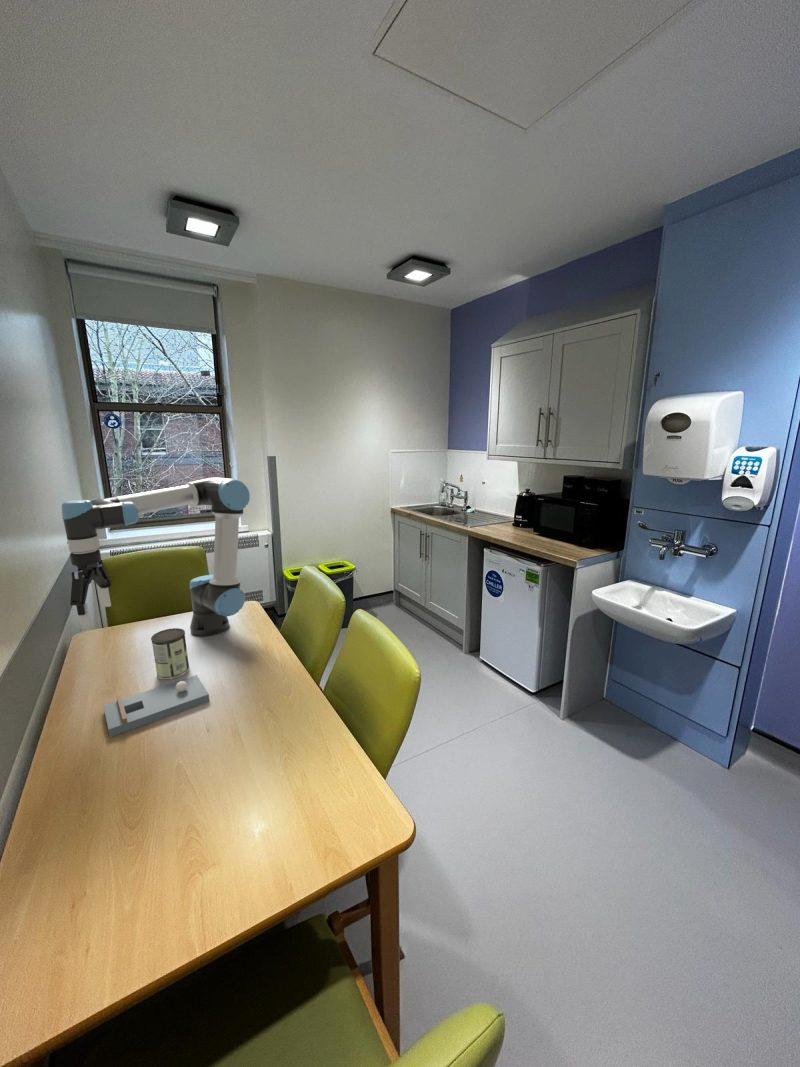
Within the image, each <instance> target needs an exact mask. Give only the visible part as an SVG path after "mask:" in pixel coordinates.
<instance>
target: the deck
mask: <svg viewBox="0 0 800 1067" xmlns="http://www.w3.org/2000/svg"><path fill="white" fill-rule="evenodd" d="M180 681H185V682H186V683H187V688H186V690H185V691H183V692H179V691H177V690H176V685H177V683H178V682H180ZM209 702H210V696H209V692H208V691H207V689H206V688H205V686H204V685H203V683H202V681H201V680H200V677H198V675H197V674H196V675H193V676H188V677H186V678H183V679H180V680H176V681H174V682H170V683H167V684H164V685H161V686H158V687H155V688H152V689H148V690H145V691H142V692H139V693H136V694H134V695H129V696H126V697H122V696H121V694H119V695H116V700H114V701H111V702H109V703H105V704H103V705H102V706H103V711H104V716H105V721H106V726H107V730H108V735H109V738H112V737H116V736H118V735H121V734H124V733H126V732H129V731H132V730H134V729H137V728H140V727H142V726H146V725H148V724H151V723H153V722H156V721H159V720H162V719H164V718H167V717H171V716H172V715H173V716H174V715H175V714H178V713H181V712H184V711H187V710H189V709H193V708H195V707H197V706H200V705H203V704H206V703H209Z"/></svg>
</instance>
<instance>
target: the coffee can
mask: <svg viewBox="0 0 800 1067" xmlns="http://www.w3.org/2000/svg"><path fill="white" fill-rule="evenodd" d="M150 640H151V645H152V650H153V651H152V652H153V656H154V663H155V668H156V669H155V670H156V677H157V678H158V679H160V680H172V679H173V680H174V679H176V678H180V677H182V676H184V675H186V674H187V673H188V672H189V670H190V664H189V663H190V662H189V657H188V650H187V649H188V648H187V643H186V642H187V640H186V631H185V630H184V629H183V628H180V627H179V628H178V627H177V628H175V627H173V628H167V629H163V630H160V631H158V632H156V633H154V634H152V636H151V638H150Z"/></svg>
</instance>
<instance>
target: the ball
mask: <svg viewBox="0 0 800 1067" xmlns="http://www.w3.org/2000/svg"><path fill="white" fill-rule="evenodd" d="M186 688H187V683H186V682H185V681H180V682H178V683H177V685H176V690H177V691H179V692H183V691H185V690H186Z"/></svg>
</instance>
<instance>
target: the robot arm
mask: <svg viewBox="0 0 800 1067" xmlns="http://www.w3.org/2000/svg"><path fill="white" fill-rule="evenodd" d="M250 496H251V495H250V491H249V489H248V486H247V485H246V484H245V483H244V482H243V481H241V480H238V479H235V478H232V477H231V478H230V477H228V478H227V477H218V476H217V477H216V476H213V477H207V478H202V479H198V480H193V481H189V482H186V483H185V485H180V486H174V487H168V488H160V489H156V490H155V489H154V490H151V491H150V490H149V491H144V492H143V491H142V492H138V493H131V494H130V493H129V494H126V495H119V496H113V497H107V498H92V499H90V500H89V499H79V500H78V499H76V500H75V499H73V500H69V501H64V502H63V503H62V504H61V513H62V514H61V515H62V521H63V525H64V530H65V534H66V540H67V541H66V544H67V545H68V551H69V552H70V554H69V557H70V563H71V564H72V566H74V567H77V571H72V572H71V590H70V606H75V607H76V611H77V618H78V623H79V625H80V626H83V625H90V624H91V623H92V622H91V616H90V610H89V605H88V602H86V601H87V596H88V591H89V587H90V584H91V583H92V581H94V582H95V584H96V585H97V586H98V589H97V590H98V597H99V602H100V606H101V608H109V607H112V602H111V597H110V596H111V595H110V591H109V588H110V587H112V580H111V578H110V575H109V574H108V572H107V569H106V568H105V565H104V561H103V559H102V555H101V551H100V549H99V548H100V544H99V542H100V541H99V538H98V533H97V532H98V531H97V530H102V529H104V530H105V529H110V528H117V527H124V526H125V527H127V526H130V525H134V524H137V522H138V520H139V515H144V514H148V513H154V512H159V511H163V510H169V509H173V508H179V507H184V506H192V507H197V506H211V507H210V508H211V512H210V513H211V514H212V515H213V516H214V519H215V522H214V523H215V524H214V544H213V545H214V548H213V549H214V550H213V573H212V574H206V575H201V576H198V577H194V578H192V579H191V580H190V581H189V591H190V599H191V606H192V607H191V608H192V617H191V622H190V626H189V629H190V633H191V634H192V635H193V636H199V637H204V636H205V637H206V636H214V635H217V634H220V633H222V632H224V631H226V630H227V629H228V628H229V627H230V622H229V621H230V620H229V618H228V617H232V616H234V615H236V614H238V613H239V612H240V610H242V608H243V607H244V605H245V603H246V596H245V592H243V590H242V589H241V580H240V578H238V576H237V574H238V573H237V572H238V550H239V548H238V547H239V546H238V545H239V527H240V526H239V525H240V524H239V523H240V518H241V517H242V515H243V514H244V509H245V508H246V507H247V505H248V504H249V503H250Z"/></svg>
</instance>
